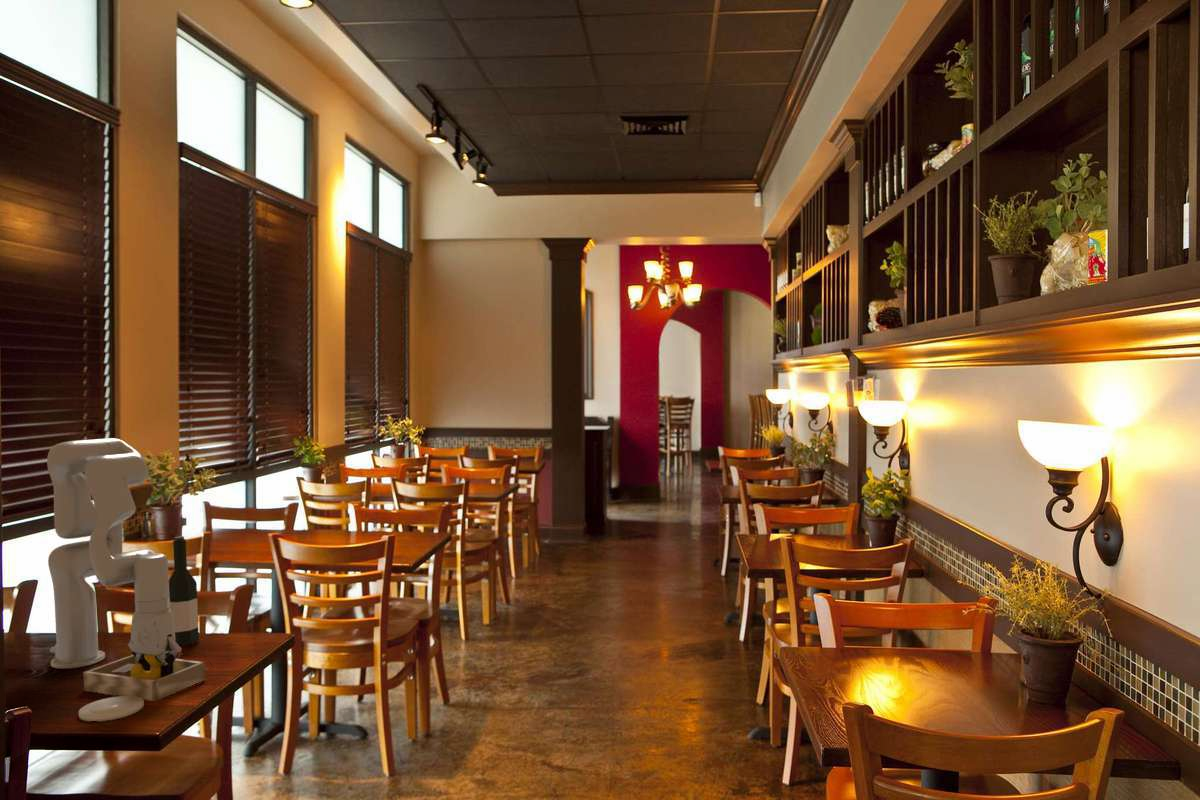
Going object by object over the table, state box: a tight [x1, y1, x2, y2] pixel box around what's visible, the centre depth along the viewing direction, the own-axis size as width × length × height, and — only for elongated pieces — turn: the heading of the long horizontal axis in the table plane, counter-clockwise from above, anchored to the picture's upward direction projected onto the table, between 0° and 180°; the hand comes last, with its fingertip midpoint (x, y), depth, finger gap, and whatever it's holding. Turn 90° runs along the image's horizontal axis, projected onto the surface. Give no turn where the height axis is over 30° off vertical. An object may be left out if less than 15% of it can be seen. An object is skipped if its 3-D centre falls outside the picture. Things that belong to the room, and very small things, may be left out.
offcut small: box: [111, 664, 134, 677], centre depth 226 cm, size 4×6×2 cm, turn 168°
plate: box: [78, 696, 145, 722], centre depth 207 cm, size 13×13×1 cm
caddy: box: [82, 654, 206, 702], centre depth 224 cm, size 23×15×4 cm, turn 68°
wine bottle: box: [169, 535, 200, 647], centre depth 259 cm, size 8×8×30 cm
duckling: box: [131, 647, 183, 680], centre depth 222 cm, size 11×5×10 cm, turn 121°
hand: (155, 677), depth 222 cm, fingers closed on duckling, 6 cm apart
